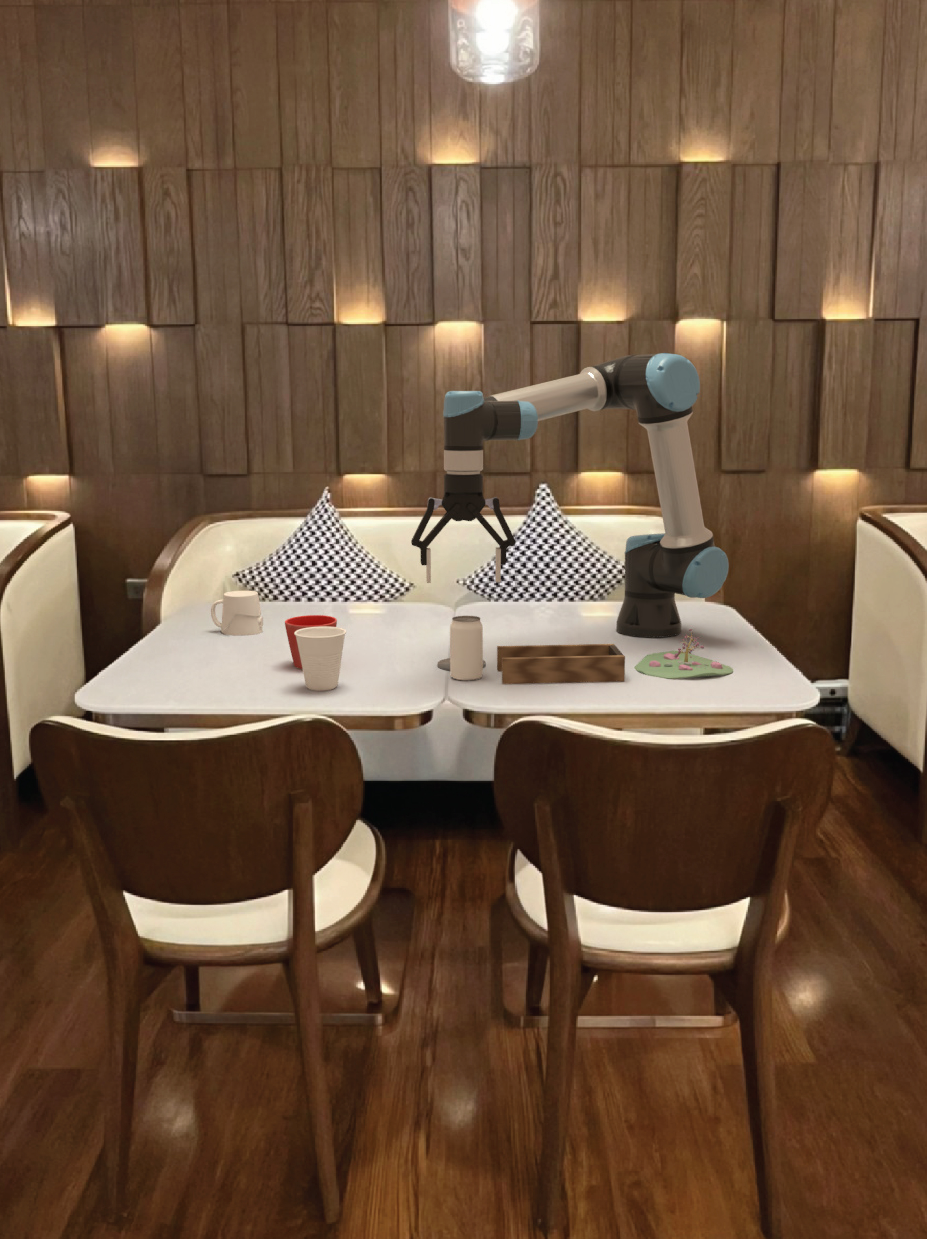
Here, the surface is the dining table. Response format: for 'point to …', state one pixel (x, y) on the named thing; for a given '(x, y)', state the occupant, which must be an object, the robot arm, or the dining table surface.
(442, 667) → the coaster
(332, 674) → the cup
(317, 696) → the dining table surface
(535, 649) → the channel
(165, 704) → the dining table surface
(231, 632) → the mug
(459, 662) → the can
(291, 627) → the flower pot
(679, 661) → the plant
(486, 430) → the robot arm
